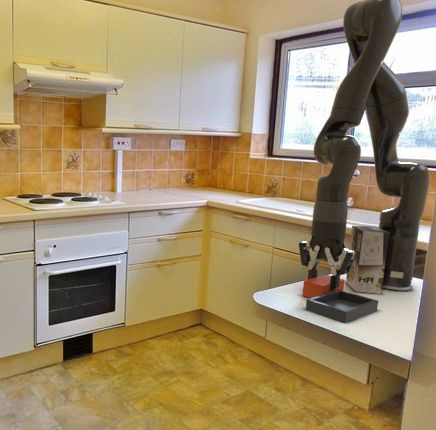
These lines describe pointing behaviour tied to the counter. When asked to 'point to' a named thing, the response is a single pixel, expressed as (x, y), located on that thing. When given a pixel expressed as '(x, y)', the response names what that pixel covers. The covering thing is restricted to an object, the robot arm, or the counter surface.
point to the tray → (342, 305)
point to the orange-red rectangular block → (319, 286)
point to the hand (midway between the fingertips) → (322, 286)
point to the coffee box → (368, 258)
